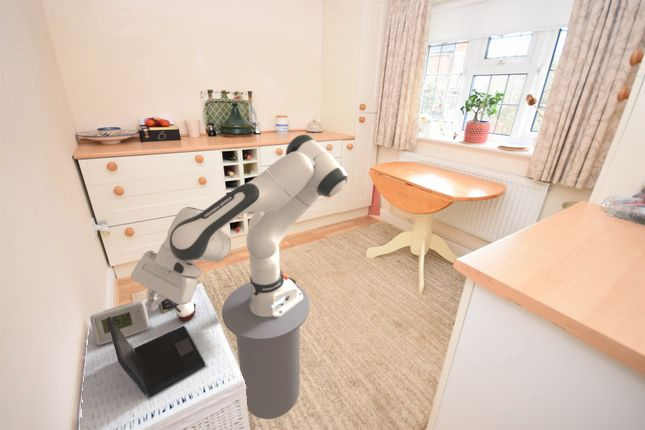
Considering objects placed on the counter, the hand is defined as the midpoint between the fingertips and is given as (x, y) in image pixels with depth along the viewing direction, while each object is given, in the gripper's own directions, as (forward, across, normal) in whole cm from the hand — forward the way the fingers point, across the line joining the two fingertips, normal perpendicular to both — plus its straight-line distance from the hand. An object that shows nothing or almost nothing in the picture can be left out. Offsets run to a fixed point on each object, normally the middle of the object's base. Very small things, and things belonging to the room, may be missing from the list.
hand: (150, 307), depth 81 cm
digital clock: (+20, -24, +20) cm, 37 cm away
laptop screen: (+16, -5, +6) cm, 18 cm away
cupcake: (+10, -10, +31) cm, 34 cm away
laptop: (+18, -1, +19) cm, 26 cm away
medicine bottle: (+9, -22, +34) cm, 42 cm away
